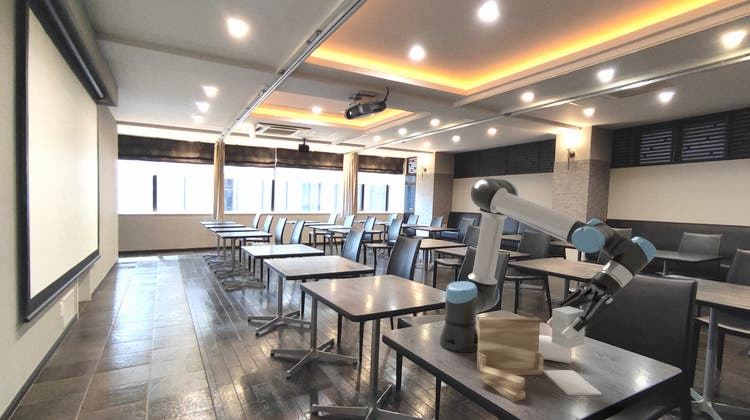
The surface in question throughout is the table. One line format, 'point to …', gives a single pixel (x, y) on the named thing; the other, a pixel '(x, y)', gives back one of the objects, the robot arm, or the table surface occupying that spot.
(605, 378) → the table surface
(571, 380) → the white flat plate
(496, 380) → the upper pine offcut
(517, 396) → the lower pine offcut
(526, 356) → the birch rack
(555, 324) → the small box
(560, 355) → the white rounded block
